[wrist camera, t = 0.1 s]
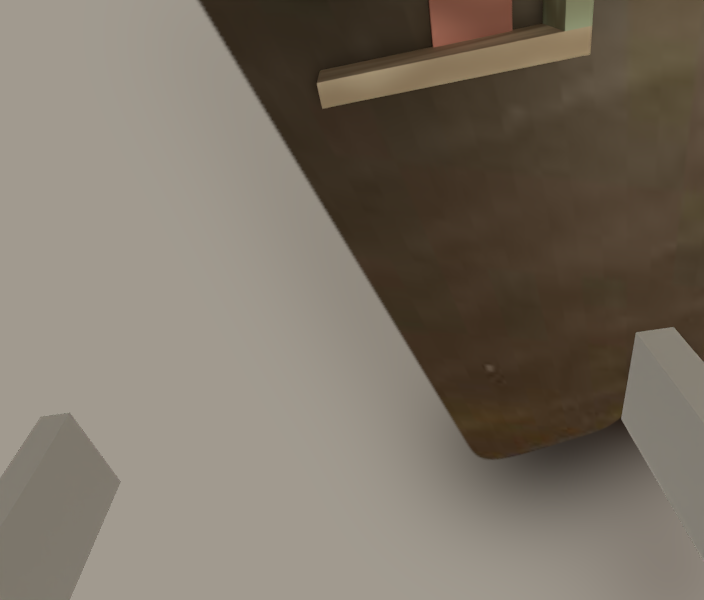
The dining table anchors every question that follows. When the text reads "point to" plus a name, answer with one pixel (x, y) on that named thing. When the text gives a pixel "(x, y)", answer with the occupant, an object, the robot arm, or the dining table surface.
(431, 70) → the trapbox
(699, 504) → the robot arm
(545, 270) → the dining table surface
